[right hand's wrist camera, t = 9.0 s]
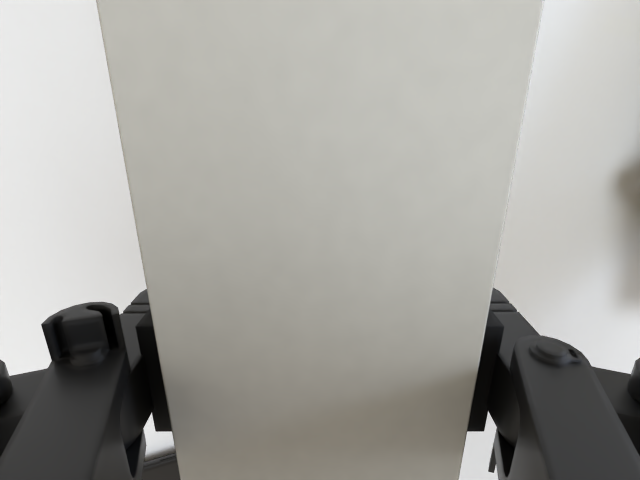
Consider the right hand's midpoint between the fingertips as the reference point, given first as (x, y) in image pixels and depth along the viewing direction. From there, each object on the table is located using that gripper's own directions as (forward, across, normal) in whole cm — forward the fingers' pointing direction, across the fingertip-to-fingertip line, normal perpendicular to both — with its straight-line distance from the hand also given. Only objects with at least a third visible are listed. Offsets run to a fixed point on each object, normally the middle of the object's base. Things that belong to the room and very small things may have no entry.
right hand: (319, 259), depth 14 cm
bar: (+1, 0, -10) cm, 10 cm away
